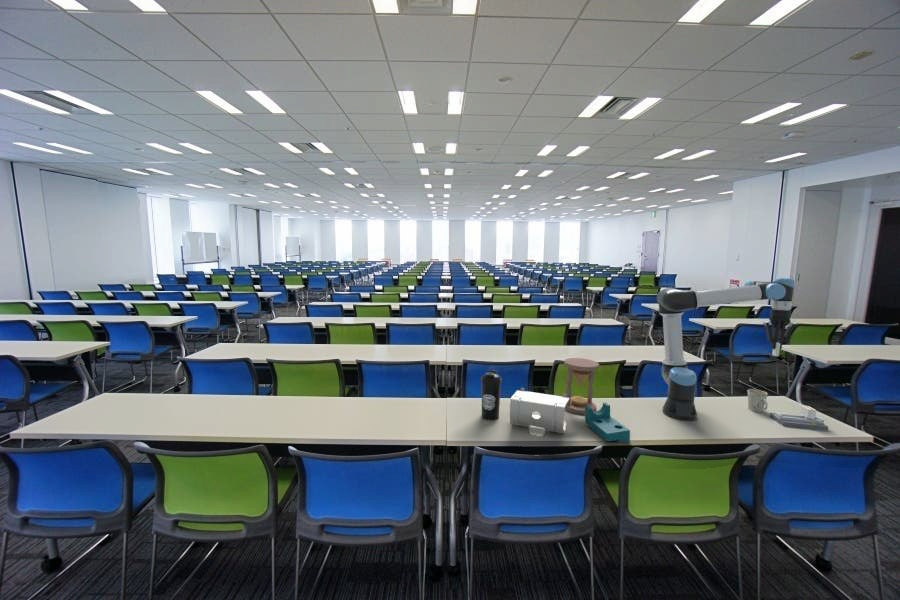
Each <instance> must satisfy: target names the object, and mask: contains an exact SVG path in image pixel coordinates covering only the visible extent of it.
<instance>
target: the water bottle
mask: <svg viewBox="0 0 900 600" xmlns="http://www.w3.org/2000/svg"><path fill="white" fill-rule="evenodd" d="M502 380H503V379H502V377H501V376H500V375H499V374H498V371H497V370H493V369H492V370H491V369H489V371H488V372H486V373H484V374H483V375H482V376H481V378H480V383H481V418H482V419H483V420H485V421H492V420H493V421H497V420H499V417H500V416H499V415H500V404H501V403H500V400H501V388H502V387H501V386H502Z"/></svg>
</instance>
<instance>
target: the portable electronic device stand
mask: <svg viewBox="0 0 900 600" xmlns="http://www.w3.org/2000/svg"><path fill="white" fill-rule="evenodd" d="M569 399H570V398H568V397H567V394H566V393H563V394H562V396H560V395H555V394H546V393H542V392H541V393H540V392H534V391H525V388H524V387H520V390H516V391H515V392H514V394H512V396H511V398H510V403H509V423H510V424H509V425H514V426H520V427H524V428H529V429H528V431H527V434H528V433H529V434H528V435H530V434H531V435H530V436H534V435H536V436H535V437H540V436H543V437H544V436H545V434H546V432H547V431H548V432H555V433H558V434H566V429H567V426H568V425H567V422H566V421H565V411H566V410H565V406H566V404H567V402H568V401H569ZM534 412H537V413H539V415H536V414H533V413H534Z"/></svg>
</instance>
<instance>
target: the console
mask: <svg viewBox="0 0 900 600" xmlns="http://www.w3.org/2000/svg"><path fill="white" fill-rule="evenodd" d="M769 417H770V418H771V419H773V420H774V421H775V422H776V423H778V424H780V425H781V426H783V427H791V428H800V429H801V428H802V429H811V430H818V431H819V430H820V431H828V430H829V425H826V424H825V419H823V418H822V417H820V416H818V415H816V416H815V419H805V418H803V415H801V414H800V415H799V414H792V413H783V412H782V413H781V412H778V411H773V412H770V413H769Z"/></svg>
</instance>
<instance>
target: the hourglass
mask: <svg viewBox="0 0 900 600" xmlns="http://www.w3.org/2000/svg"><path fill="white" fill-rule="evenodd" d="M563 365H564V367H566V368H567V373H566V374H567V375H566V385H567V387H566V389H565V394H567V397H568V398H570V399H569V401H568V402H567V404H566V406H565V410H564V411H567V412H570V413H573V414H577V415H585V405H588V406H590V407H591V408H592V411H593V412H597V405H596V404H595V403H594V402H593V393H594V386H593V383H594V380H595V374H594V372H595V371H597V370H599V368H600V364H599V362H597V361H595V360H592V359H587V358H581V357H580V358H579V357H570V358H566V359H564V361H563ZM573 377H574V379H575V380H576V382H577V383H578V387H582V386H583V383H585V381H586V380H588V385H587V390H586V391H587V394H586V395H587V398H586V397H583V396H581V395H575V396H572V394H573V392H572V382H573Z"/></svg>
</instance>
